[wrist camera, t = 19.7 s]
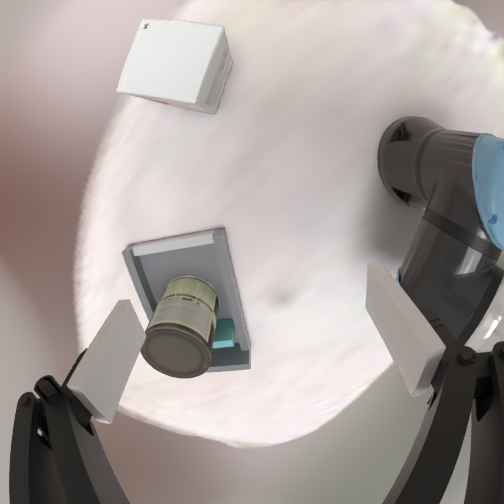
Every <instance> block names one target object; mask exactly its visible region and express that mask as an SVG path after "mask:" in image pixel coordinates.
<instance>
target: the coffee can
mask: <svg viewBox="0 0 504 504" xmlns="http://www.w3.org/2000/svg"><path fill="white" fill-rule="evenodd" d="M219 306H220V299H219V295H218V292H217V291H216V289H215V288H214V287H213V286H212V285H211V284H210V283H209V282H208V281H206V280H205V279H203V278H201V277H197V276H193V275H183V276H179V277H176V278H175V279H173V280H171V281H170V282H169V283H168V285H167V286H166V288H165V291H164V293H163V295H162V297H161V299H160V301H159V303H158V305H157V307H156V309H155V312H154V314H153V316H152V318H151V320H150V322H149V324H148V327H147V329H146V331H145V334H146V338H145V341H144V343H143V345H142V347H141V350H140V351H141V354H142V356H143V358H144V359H145V360H146V362H147V363H148V364H149V365H150V366H152V367H153V368H154V369H156V370H157V371H159V372H161V373H163V374H165V375H168V376H171V377H176V378H193V377H197V376H200V375H202V374H203V373H205V372H206V371H207V370H208V368H209V367H210V364H211V359H212V354H211V353H212V347H213V341H214V334H215V328H216V322H217V316H218V310H219Z"/></svg>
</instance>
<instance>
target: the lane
mask: <svg viewBox="0 0 504 504" xmlns="http://www.w3.org/2000/svg"><path fill="white" fill-rule="evenodd" d="M122 254H123V257H124V260H125V262H126V265H127V268H128V271H129V273H130V276H131V278H132V281H133V284H134V286H135V289H136V291H137V294H138V296H139V298H140V301H141V303H142V306H143V308H144V310H145V312H146V315H147V317H148V319H149V322H150V320H151V318H152V316H153V314H154V312H155V309H156V307H157V305H158V303H159V301H160V299H161V297H162V295H163V293H164V291H165V288H166V286H167V285H168V283H169V282H170V281H171V280H173V279H175V278H176V277H179V276H183V275H193V276H197V277H201V278H203V279H205V280H206V281H208V282H209V283H210V284H211V285H212V286H213V287H214V288H215V289H216V291H217V292H218V295H219V299H220V306H219V310H218V316H217V321H218V320H227V319H233V322H234V326H235V336H234V346H232V347H222V348H212V353H211V354H212V359H211V364H210V367H209V368H208V370H207V371H206V372H222V371H235V370H246V369H251V344H250V340H249V336H248V331H247V327H246V323H245V319H244V314H243V310H242V306H241V301H240V297H239V293H238V288H237V284H236V279H235V275H234V271H233V266H232V262H231V257H230V252H229V248H228V243H227V239H226V234H225V229H224V228H220V229H214V230H208V231H202V232H196V233H191V234H185V235H179V236H174V237H168V238H163V239H157V240H152V241H147V242H141V243H136V244H131V245H128V246H127V248H126V249H125V250H124V251H123V252H122Z"/></svg>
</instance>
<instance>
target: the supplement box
mask: <svg viewBox="0 0 504 504" xmlns="http://www.w3.org/2000/svg"><path fill="white" fill-rule="evenodd" d="M232 64H233V62H232V58H231V54H230V50H229V46H228V42H227V38H226V34H225V28H224V27H223V26H218V25H212V24H206V23H198V22H191V21H185V20H169V19H147V18H146V19H145V18H144V19H142V21H141V24H140V26H139V29H138V31H137V33H136V36H135V39H134V41H133V44H132V46H131V49H130V52H129V55H128V57H127V60H126V63H125V66H124V68H123V71H122V74H121V77H120V81H119V84H118V88H117V92H120V93H124V94H128V95H132V96H136V97H140V98H144V99H148V100H152V101H155V102H159V103H162V104H167V105H172V106H177V107H182V108H187V109H192V110H197V111H201V112H206V113H210V114H216V111H217V108H218V105H219V102H220V99H221V96H222V93H223V90H224V87H225V84H226V81H227V78H228V75H229V72H230V69H231V67H232Z"/></svg>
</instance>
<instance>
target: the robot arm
mask: <svg viewBox="0 0 504 504" xmlns="http://www.w3.org/2000/svg"><path fill="white" fill-rule="evenodd" d="M378 168H379V173H380V176H381V179H382V181H383V184H384V185H385V187H386V189H387V190H388V191H389V193H390V194H391V195H392V196H393V197H394V198H396V199H397V200H399V201H401V202H402V203H404V204H406V205H408V206H412V207H416V208H426V211H425V213H424V216H423V218H422V220H421V223H420V225H419V228H418V230H417V233H416V235H415V238H414V240H413V242H412V245H411V247H410V249H409V251H408V254H407V256H406V258H405V260H404V262H403V264H402V266H401V267H400V268H399V270H398V272H397V277H396V280H395V279H394V278H393V277H392V276H391V274H390V273H389V272H388V271H387V270H386V268H385V267H384V266H383V265H382V264H381V263H377V264H371V265H368V274H367V294H366V309H367V311H368V313H369V315H370V316H371V318H372V320H373V322H374V324H375V326H376V327H377V329H378V331H379V333H380V335H381V337H382V339H383V341H384V342H385V344H386V346H387V348H388V350H389V352H390V354H391V356H392V358H393V360H394V362H395V364H396V366H397V368H398V370H399V372H400V374H401V376H402V378H403V380H404V383H405V384H406V387H407V389H408V391H409V393H410V395H411V397H415V396H418V395H420V394H423V393H426V392H427V390H428V388H429V386H430V384H431V385H432V387H433V389H434V392H433V394H432V396H431V398H430V400H429V401H428V403H427V404H429V406H428V409H427V411H426V415H425V417H424V420H423V422H422V425H421V428H420V430H419V433H418V435H417V437H416V440H415V442H414V444H413V447H412V449H411V451H410V453H409V456H408V458H407V460H406V462H405V464H404V466H403V468H402V470H401V472H400V474H399V476H398V477H397V479H396V481H395V483H394V485H393V487H392V488H391V490H390V492H389V493H388V495H387V497H386V498H385V500H384V502H383V503H382V504H439V503H440V501H441V499H442V497H443V495H444V492H445V490H446V488H447V485H448V483H449V480H450V478H451V476H452V473H453V470H454V467H455V465H456V462H457V459H458V456H459V453H460V450H461V447H462V443H463V440H464V436H465V433H466V429H467V425H468V421H469V416H470V412H471V413H472V414H471V415H472V431H471V434H472V435H471V454H470V466H469V475H468V483H467V489H466V495H465V500H464V504H504V270H503V269H501V268H500V267H498V266H497V265H496V263H497V261H498V258H499V256H500V254H501V251H502V250H504V139H503V138H499V137H496V136H494V135H492V134H488V133H483V134H481V133H474V132H465V131H455V130H446V129H444V128H443V127H441V126H439V125H438V124H436V123H435V122H433V121H431V120H429V119H426V118H422V117H405V118H402V119H399V120H397V121H396V122H394V123H393V124H392V125H391V126H390V127H389V128H388V129H387V130H386V132H385V133H384V135H383V137H382V139H381V142H380V146H379V150H378ZM145 338H146V334H145V332H144V330H143V328H142V326H141V323H140V321H139V319H138V317H137V315H136V313H135V311H134V308H133V306H132V304H131V302H130V299H128V300H119V301H118V302H117V304H116V305H115V307H114V308H113V310H112V311H111V313H110V314H109V316H108V317H107V319H106V320H105V322H104V324H103V325H102V327H101V328H100V330H99V331H98V333H97V334H96V336H95V338H94V339H93V341H92V342H91V344H90V346H89V347H88V349H87V348H86V349H85V350H84V351H83V352H82V353H81V354H80V355H79V357H78V359H77V360H76V363H75V364H74V365H73V367H72V369H71V370H70V372H69V374H68V376H67V378H66V379H65V381H64V383H63V384H62V386H60V385H59V384H58V383H57V381H56V380H55V379H54V377H52V376H51V375H47V376H44V377H42V378H40V379H39V380H38V381H37V383H36V384H35V387H34V391H35V392H36V393H37V394H38V395H39V397H40V398H39V399H38V398H37V397H36V396H35V395H34V394H33V393H32V392H27V393H24V394H23V395H22V396H21V397H20V399H19V400H18V403H17V409H16V414H15V420H14V427H13V434H12V443H11V453H10V472H9V494H10V504H130V502H129V501H128V499H127V497H126V496H125V494H124V492H123V490H122V488H121V486H120V485H119V482H118V480H117V478H116V476H115V474H114V472H113V470H112V468H111V466H110V464H109V461H108V459H107V457H106V455H105V453H104V450H103V447H102V445H101V442H100V440H99V437H98V435H97V432H96V430H95V427H94V424H93V423H92V421H91V420H90V419H91V416H92V415H93V416H94V417H95V418H96V419H97V421H98V422H103V423H108V424H111V422H112V419H113V417H114V414H115V411H116V409H117V406H118V403H119V401H120V398H121V396H122V393H123V391H124V388H125V386H126V383H127V381H128V378H129V376H130V373H131V371H132V369H133V366H134V364H135V361H136V359H137V357H138V354H139V352H140V350H141V347H142V345H143V343H144V341H145ZM38 429H39V430H40V431H41V432H42V435H41V436H40V435H39V434H38Z"/></svg>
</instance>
